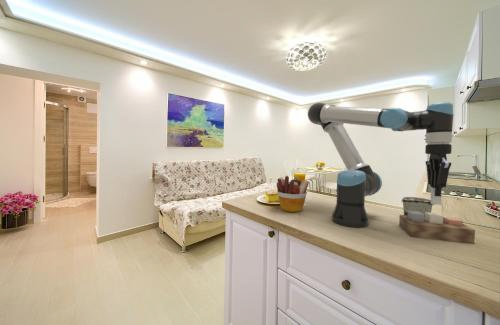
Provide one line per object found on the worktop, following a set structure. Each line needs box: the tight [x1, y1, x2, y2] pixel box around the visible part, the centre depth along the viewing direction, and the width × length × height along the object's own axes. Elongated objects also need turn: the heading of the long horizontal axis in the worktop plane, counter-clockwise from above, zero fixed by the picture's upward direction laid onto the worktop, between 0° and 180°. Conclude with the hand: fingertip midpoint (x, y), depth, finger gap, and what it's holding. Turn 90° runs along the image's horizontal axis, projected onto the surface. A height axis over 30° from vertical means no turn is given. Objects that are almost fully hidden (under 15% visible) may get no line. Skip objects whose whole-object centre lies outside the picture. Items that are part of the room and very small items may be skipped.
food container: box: [401, 196, 435, 217], centre depth 101 cm, size 12×6×10 cm, turn 65°
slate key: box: [408, 211, 424, 222], centre depth 84 cm, size 4×4×4 cm
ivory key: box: [425, 212, 444, 224], centre depth 82 cm, size 4×4×4 cm
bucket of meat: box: [276, 175, 310, 213], centre depth 115 cm, size 20×16×20 cm
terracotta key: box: [443, 216, 464, 226], centre depth 80 cm, size 4×4×4 cm
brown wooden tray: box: [398, 214, 476, 244], centre depth 82 cm, size 19×12×5 cm, turn 72°
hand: (435, 203), depth 81 cm, fingers closed
